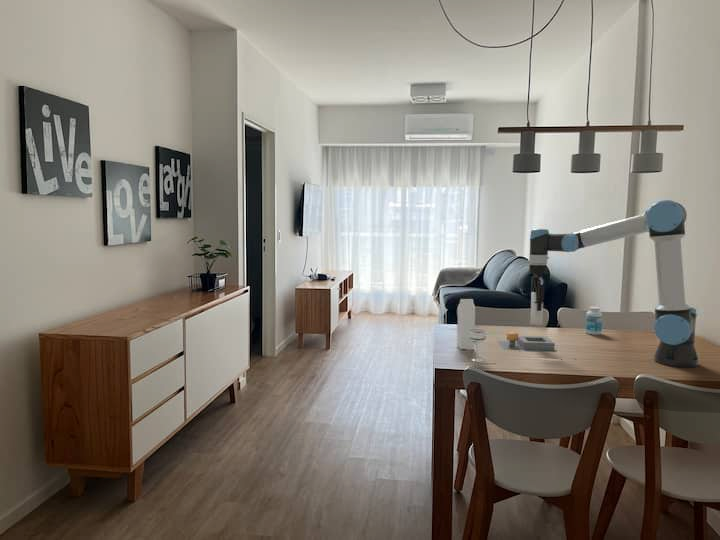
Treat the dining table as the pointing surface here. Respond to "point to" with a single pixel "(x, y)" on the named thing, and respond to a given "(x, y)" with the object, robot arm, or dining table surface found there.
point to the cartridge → (534, 320)
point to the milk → (465, 323)
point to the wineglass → (477, 340)
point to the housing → (529, 344)
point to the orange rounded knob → (512, 336)
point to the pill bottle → (593, 321)
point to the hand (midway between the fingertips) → (536, 316)
